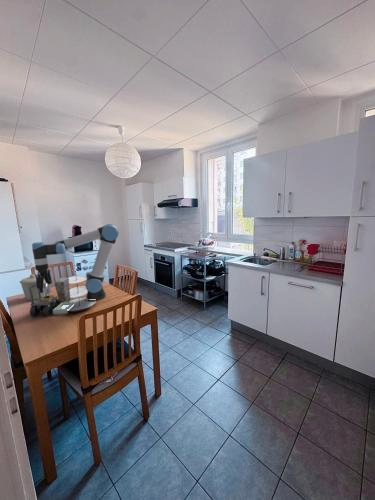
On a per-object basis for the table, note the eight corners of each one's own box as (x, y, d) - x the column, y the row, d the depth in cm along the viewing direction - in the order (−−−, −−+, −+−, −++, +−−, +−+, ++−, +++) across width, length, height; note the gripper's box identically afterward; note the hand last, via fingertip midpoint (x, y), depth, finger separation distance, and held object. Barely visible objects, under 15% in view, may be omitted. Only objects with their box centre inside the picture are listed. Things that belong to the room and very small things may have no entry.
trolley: (60, 307, 164) (56, 280, 160) (48, 317, 148) (43, 287, 144) (44, 308, 163) (39, 281, 159) (30, 318, 148) (25, 288, 144)
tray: (74, 306, 165) (73, 301, 165) (66, 313, 153) (65, 309, 152) (62, 306, 165) (61, 302, 164) (53, 314, 152) (52, 310, 151)
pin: (50, 298, 157) (47, 283, 155) (48, 300, 154) (45, 284, 152) (46, 298, 157) (43, 283, 154) (43, 300, 154) (41, 284, 151)
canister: (28, 303, 172) (24, 278, 168) (19, 299, 182) (14, 275, 178) (52, 295, 187) (48, 273, 184) (42, 292, 197) (38, 270, 193)
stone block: (68, 305, 167) (64, 281, 163) (58, 306, 165) (54, 282, 161) (71, 299, 179) (68, 276, 176) (62, 300, 177) (59, 277, 174)
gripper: (44, 261, 160) (48, 289, 164) (26, 267, 140) (32, 300, 145) (54, 260, 160) (58, 289, 164) (38, 267, 141) (43, 299, 145)
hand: (46, 294), depth 154 cm, fingers open, 7 cm apart
